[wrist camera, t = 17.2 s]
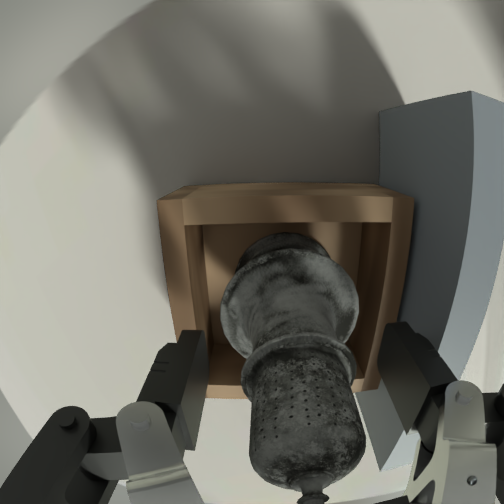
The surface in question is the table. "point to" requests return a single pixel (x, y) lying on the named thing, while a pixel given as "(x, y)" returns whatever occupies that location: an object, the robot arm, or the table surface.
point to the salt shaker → (296, 362)
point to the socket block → (277, 221)
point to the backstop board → (441, 236)
